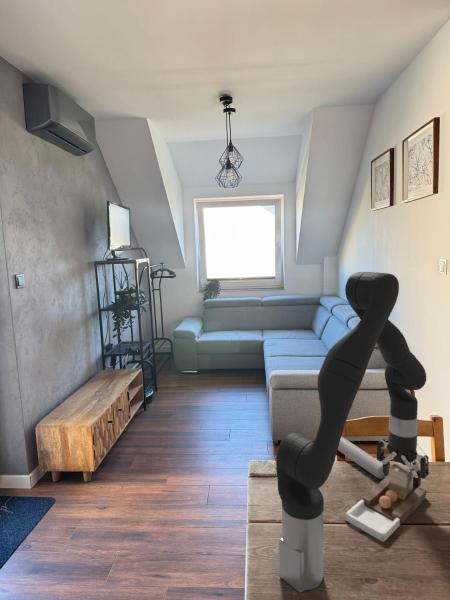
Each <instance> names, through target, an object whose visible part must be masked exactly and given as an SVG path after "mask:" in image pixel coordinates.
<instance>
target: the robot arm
mask: <svg viewBox="0 0 450 600" xmlns="http://www.w3.org/2000/svg"><path fill="white" fill-rule="evenodd" d="M344 291H345V297H346V300H347V302H348V304H349V306H350V307H351V308H352V310H353V311H354V312H355V315H357V317H358V318H359V319H360V320H359V322H358V323H357V325H355V326H354V327H353V328H352V329H351V330H350V331H349V332H347V333H346V334H345V335H344V336H343V337H342V338H340V339H339V340H338V341H337V342H336V343H334V344H333V345H332V347H331V348H330V349H329V350H328V352H327V353H326V355H325V358H324V360H323V363H322V365H321V368H320V370H319V372H318V375H317V392H318V393H317V394H318V399H319V405H320V406H319V407H320V421H319V426H318V428H317V433H316V436H315V438H314V439H312V438H309V437H307V436H306V435H303V434H301V433H299V432H290V433H288V434H286V435H285V436H284V437H283V438H282V439H281V441H280V443H279V445H278V448H277V451H276V462H275V463H276V464H275V465H276V479H277V492H278V495H279V497H280V500H281V538H279V540H278V541H279V543H278V547H279V548H278V551H279V552H278V554H279V557H278V558H279V566H278V567H279V577H280V578H281V579H283V580H284V581H285V582H286V583H287V584H288V585H289V586H291V587H292V588H293V589H295V590H296V592H298V593H300V594H301V593H302V592H304V591H310V590H313V589H317V588H318V587H319V586H320V585H321V583H322V582H323V579H324V520H325V519H324V513H325V512H324V511H325V506H324V504H325V501H324V496H323V493H322V492H321V490H320V488H321V487H323V486H324V484H325V483H326V481H327V480H328V478H329V476H330V474H331V472H332V469H333V466H334V464H335V460H336V457H337V453H338V451H339V450H338V446H339V443H340V439H341V436H342V437H343V432H344V428H345V425H346V422H347V420H348V418H349V414H350V411H351V410H352V406H353V404H354V401H355V399H356V396H357V395H358V392H359V389H360V387H361V385H362V382H363V379H364V377H365V374H366V372H367V368H368V365H369V363H370V359H371V358H372V354H373V353H374V350H375V347H376V345H377V347H378V349H379V351H380V355H382V359H383V360H384V362H385V364H386V366H385V369H384V378H385V379H384V380H385V384H386V388H387V391H388V395H389V398H390V400H389V401H390V410H389V411H390V412H389V419H388V435H387V436H388V442H387V441H386V439H385V438H382V439H380V440H378V441H377V445H376V446H377V447H376V458H375V459H377V460H378V461H380V462H381V463H383V473H384V475H385V476H386V477H387V476H388V475H389V467H391V462H390V461H391V460H394V462H395V463H396V462H398V463H401V464H403V465H406V466H407V467H408V469H409V470H410V471H411V472H412V473H413V488H414V489H417V488H418V487H421V484H422V483H421V481H422V480H425V479H426V478H427V477H429V470H430V469H429V467H430V466H429V465H430V463H429V456H428V455H427V454H423V455H421V454H418V452H417V448H418V432H419V428H418V427H419V425H418V424H419V423H418V407H419V403H418V399H417V397H416V396H415V395H414V394H412V393H409V391H408V390H410V391H418V390H421V389H423V387H425V385H426V382H427V372H426V369H425V367H424V366H423V364H422V363H421V362H420V361H419V359H418V358H417V357H416V356H415V355H414V353H413V352H412V351H411V350H410V347H409V345H408V342H407V340H406V338H405V336H404V334H403V333H402V331H401V330H400V329H399V328H398V327H397V326H396V325H395V324H394V323H393V322H392V321H391V320H390V319H389V318H390V316H391V314H392V312H393V309H394V308H395V305H396V303H397V301H398V297H399V293H400V283H399V279H398V278H397V277H396V276H395V275H394V274H392V273H388V272H377V271H375V272H374V271H357V272H353V273H352V274H351V275H350V276H349V277H348V279H347V281H346V283H345V288H344ZM406 389H408V390H406ZM385 449H387V450H388V452H389V455H388V456H385V452H386V450H385ZM417 460H418V461H417ZM419 465H420V466H419Z"/></svg>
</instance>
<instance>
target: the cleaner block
mask: <svg viewBox="0 0 450 600" xmlns="http://www.w3.org/2000/svg"><path fill="white" fill-rule="evenodd" d="M413 477H414V475H413V473H412V472H411V471H410V470H409V469H408V467H407V465H403V464H401V463H399V462H396V461H395V462H394V463H393V464H392V465H390V467H389V484H388V491H389V490H393V491H395V492H396V494H397V496H398V498H400V499H402V500H405V499H406V498H408V497H409V496H410V495H411V494H412V486H413Z"/></svg>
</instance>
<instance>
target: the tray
mask: <svg viewBox="0 0 450 600" xmlns="http://www.w3.org/2000/svg"><path fill="white" fill-rule="evenodd" d="M344 521H346V522H347V523H350V525H353V526H355V527H356V528H358V529H359V530H362V531H363V532H365V533H367V534H368V535H370V536H371V537H374V538H375V539H377V540H379V541H381V542H382V543H384V542H385V541H387V539H388V538H389V537H390V536H392V534H393V533H394V532H395V531H396V530H397V529H398V528H399V527H400V526H401V525H400V519H399V518H396V519H395V520H394V521H392V520H390V519H388V518H387V517H385V516H383V515H381V514H379V513H377V512H375V511H373V510H371V509H370V508H368V507H366V506H364V500H362V499H360V500H359V501H358V502H357V503H356V504H354V505H353V506H352V507H351V508H350V509H348V511H346V512H345V513H344Z"/></svg>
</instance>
